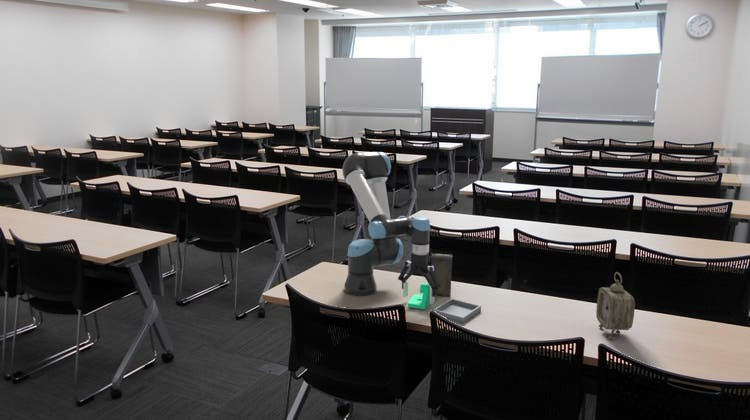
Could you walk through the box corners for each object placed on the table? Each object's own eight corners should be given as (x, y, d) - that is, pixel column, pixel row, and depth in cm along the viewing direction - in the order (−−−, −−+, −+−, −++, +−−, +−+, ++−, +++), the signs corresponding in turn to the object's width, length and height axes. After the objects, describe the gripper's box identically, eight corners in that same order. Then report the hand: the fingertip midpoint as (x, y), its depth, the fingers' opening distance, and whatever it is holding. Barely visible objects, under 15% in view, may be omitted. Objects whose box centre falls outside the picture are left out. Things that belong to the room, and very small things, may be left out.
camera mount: (414, 299, 253) (415, 277, 251) (431, 301, 251) (432, 279, 249) (407, 309, 242) (407, 286, 240) (424, 311, 240) (425, 288, 237)
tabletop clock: (594, 326, 227) (600, 266, 222) (617, 326, 227) (623, 267, 222) (607, 341, 213) (614, 278, 208) (632, 342, 213) (639, 279, 207)
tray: (432, 315, 235) (433, 309, 235) (451, 303, 248) (451, 298, 248) (463, 323, 227) (463, 317, 227) (480, 311, 240) (481, 305, 240)
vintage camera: (450, 287, 271) (451, 246, 267) (451, 297, 256) (452, 254, 252) (430, 286, 272) (430, 246, 268) (430, 296, 256) (430, 254, 253)
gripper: (391, 249, 246) (390, 295, 250) (441, 260, 231) (439, 308, 236) (400, 246, 252) (399, 291, 256) (449, 256, 237) (447, 303, 242)
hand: (418, 299), depth 246 cm, fingers open, 13 cm apart
